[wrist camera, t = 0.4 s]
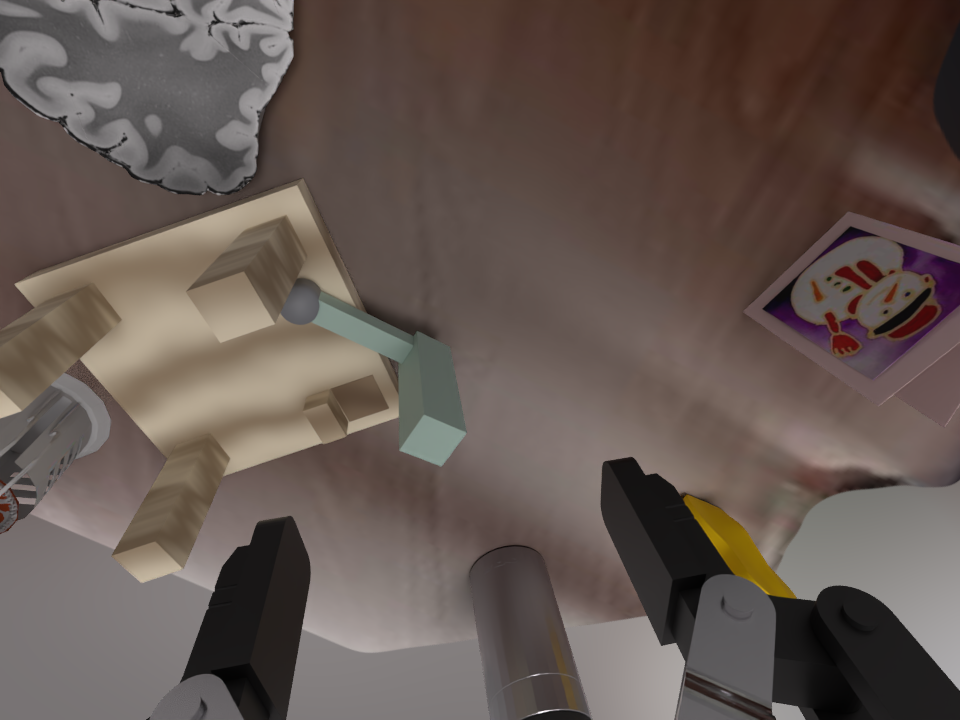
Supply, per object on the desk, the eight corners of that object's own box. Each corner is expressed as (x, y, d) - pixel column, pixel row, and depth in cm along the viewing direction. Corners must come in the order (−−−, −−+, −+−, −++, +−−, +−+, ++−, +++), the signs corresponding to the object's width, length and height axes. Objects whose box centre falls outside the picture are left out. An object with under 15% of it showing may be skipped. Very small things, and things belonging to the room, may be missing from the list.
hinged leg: (277, 303, 36) (235, 387, 26) (294, 269, 35) (257, 343, 25) (430, 374, 41) (441, 466, 31) (449, 346, 40) (466, 432, 30)
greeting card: (844, 205, 42) (1043, 264, 29) (881, 255, 45) (1077, 329, 32) (737, 306, 45) (872, 400, 32) (779, 347, 48) (917, 447, 36)
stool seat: (407, 397, 45) (411, 510, 33) (201, 467, 45) (135, 602, 34) (303, 178, 34) (256, 231, 23) (37, 271, 35) (-139, 369, 23)
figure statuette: (615, 511, 57) (723, 729, 38) (660, 464, 54) (800, 674, 35) (717, 550, 64) (851, 751, 45) (761, 510, 61) (925, 707, 42)
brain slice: (-90, -294, 23) (-151, -340, 20) (303, -177, 26) (292, -203, 24) (23, 160, 32) (-9, 168, 29) (301, 200, 36) (294, 210, 33)
